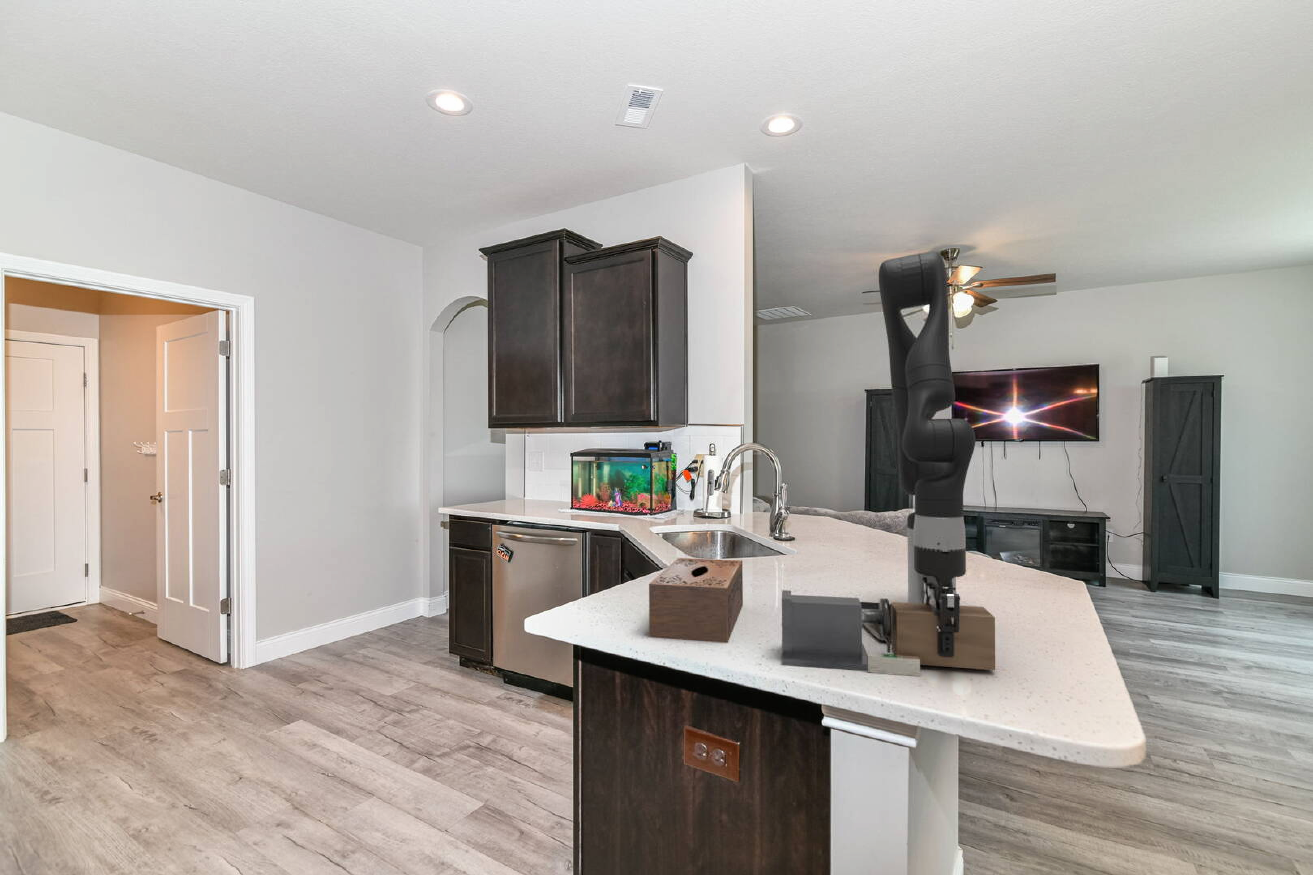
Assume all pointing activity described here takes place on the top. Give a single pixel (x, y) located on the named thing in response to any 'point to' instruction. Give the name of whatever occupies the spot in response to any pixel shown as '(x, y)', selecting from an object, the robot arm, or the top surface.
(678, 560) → the tissue box cover
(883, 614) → the plunger
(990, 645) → the walnut block
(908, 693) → the top surface
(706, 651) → the top surface
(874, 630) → the black curved shell
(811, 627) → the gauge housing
